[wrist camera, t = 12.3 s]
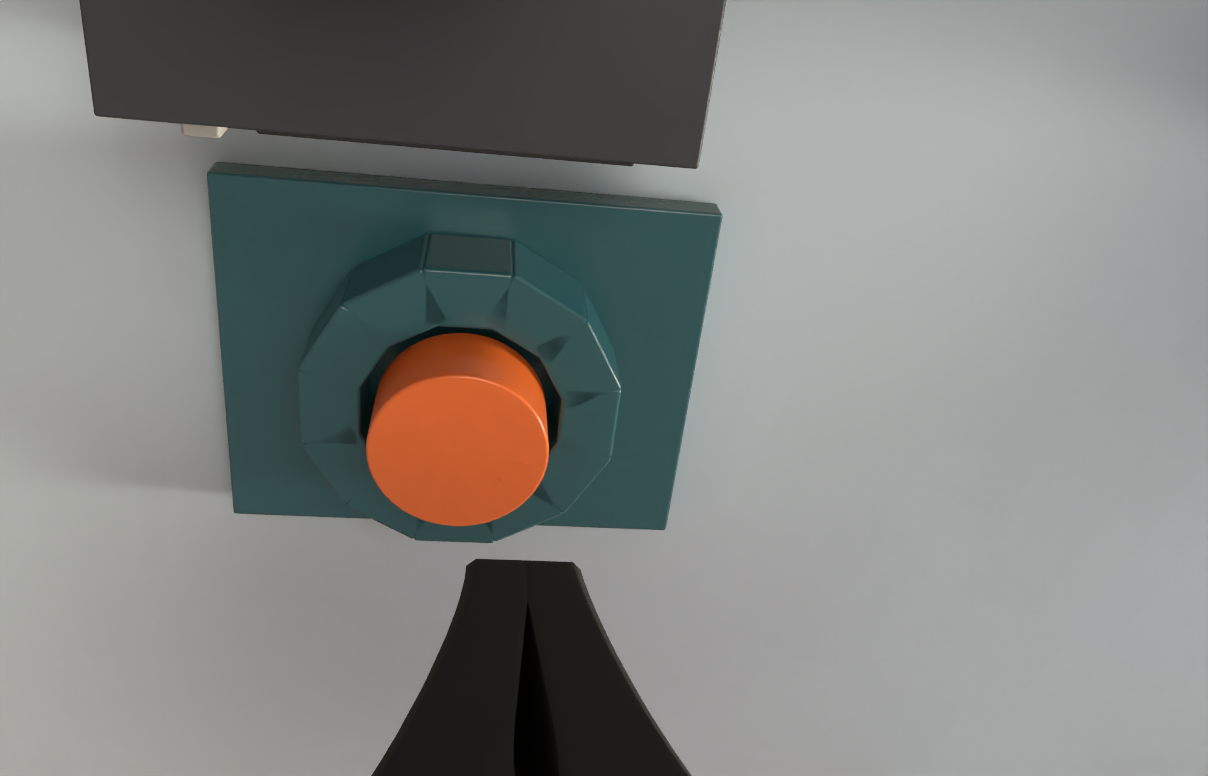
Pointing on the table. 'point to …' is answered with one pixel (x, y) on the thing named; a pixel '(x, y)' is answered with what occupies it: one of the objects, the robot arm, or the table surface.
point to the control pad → (454, 305)
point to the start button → (458, 430)
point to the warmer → (418, 72)
